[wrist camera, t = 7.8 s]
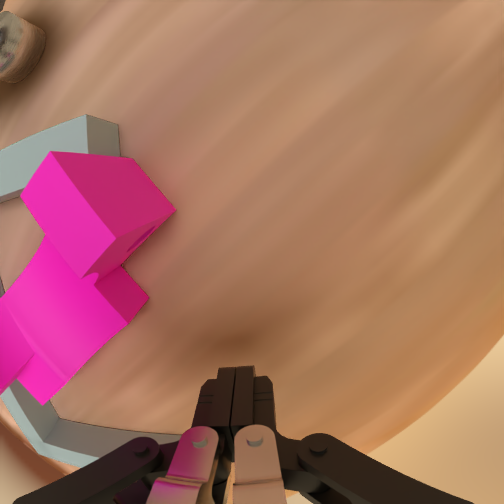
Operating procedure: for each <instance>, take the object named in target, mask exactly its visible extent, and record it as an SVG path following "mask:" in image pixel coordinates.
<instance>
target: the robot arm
mask: <svg viewBox="0 0 504 504" xmlns="http://www.w3.org/2000/svg"><path fill="white" fill-rule="evenodd" d="M231 462H235V483H234V484H233V504H287V502H286V496H285V490H284V489H287V490H293V491H299V492H300V494H301V495H302V496H304V497H305V498H306V499H308V500H309V501H310V502H312V503H313V504H474V503H472V502H470V501H467V500H464V499H461V498H459V497H456V496H453V495H450V494H448V493H446V492H443V491H441V490H438V489H436V488H433V487H431V486H429V485H426V484H424V483H422V482H420V481H417V480H415V479H413V478H411V477H409V476H406V475H404V474H402V473H400V472H398V471H396V470H394V469H392V468H390V467H388V466H386V465H384V464H382V463H380V462H378V461H376V460H374V459H372V458H370V457H368V456H367V455H365V454H363V453H361V452H359V451H357V450H356V449H354V448H352V447H350V446H348V445H347V444H345V443H343V442H342V441H340V440H338V439H336V438H335V437H333V436H331V435H328V434H324V433H316V434H311V435H309V436H306V437H305V438H303V439H302V440H293V439H288V438H286V437H284V436H282V435H280V434H279V433H278V432H277V430H276V415H275V403H274V393H273V384H272V382H271V380H270V379H269V378H268V377H267V376H259V377H256V374H255V367H254V366H241V367H237V368H236V367H226V368H219V370H218V375H217V379H208V380H207V381H206V382H205V383H204V385H203V386H202V387H201V390H200V394H199V398H198V404H197V406H196V410H195V414H194V418H193V422H192V427H191V428H190V429H188V430H187V431H185V432H184V433H183V435H182V436H181V438H180V440H178V441H176V442H171V443H166V444H160V445H159V444H158V443H157V441H156V440H154V439H152V438H150V437H137V438H134V439H132V440H130V441H128V442H127V443H125V444H123V445H122V446H120V447H118V448H117V449H115V450H113V451H111V452H110V453H108V454H106V455H104V456H103V457H101V458H99V459H97V460H95V461H94V462H92V463H90V464H88V465H86V466H84V467H82V468H80V469H79V470H77V471H75V472H73V473H71V474H69V475H67V476H65V477H63V478H61V479H59V480H57V481H55V482H53V483H51V484H49V485H46V486H44V487H42V488H40V489H38V490H35V491H34V492H31V493H29V494H26V495H24V496H22V497H19V498H17V499H16V500H15V501H14V502H13V504H226V503H227V498H228V493H229V487H230V482H231V473H230V472H231ZM137 480H138V481H137ZM124 488H125V489H124ZM119 491H120V492H119Z"/></svg>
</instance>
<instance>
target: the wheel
mask: <svg viewBox="0 0 504 504" xmlns="http://www.w3.org/2000/svg"><path fill="white" fill-rule="evenodd" d="M4 3H5V0H0V11H2V10H3V6H4Z"/></svg>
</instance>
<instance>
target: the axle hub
mask: <svg viewBox="0 0 504 504" xmlns="http://www.w3.org/2000/svg"><path fill="white" fill-rule="evenodd" d="M45 43H46V36H45V33H44V31H43V30H41V29H40V28H38V27H36V26H34V25H33V24H31V23H29V22H27V21H25V20H24V19H22V18H20V17H18V16H16V15H14V14H13V13H11V12H9V11H4V12H2V13H0V80H2V81H5V82H9V83H16V82H19V81H21V80H22V79H24V78H25V77H26V76H27V75H28V74H29V73H30V72H31V71H32V70H33V69H34V67H35V66H36V64H37V63H38V61H39V59H40V58H41V55H42V53H43V51H44V47H45Z"/></svg>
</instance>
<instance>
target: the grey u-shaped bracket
mask: <svg viewBox="0 0 504 504" xmlns="http://www.w3.org/2000/svg"><path fill="white" fill-rule="evenodd" d="M50 151H59V152H73V153H85V154H95V155H105V156H115V157H120V146H119V132H118V125H117V124H114V123H111V122H108V121H105V120H102V119H99V118H96V117H93V116H90V115H87V114H86V115H83V116H80V117H77V118H74V119H71V120H69V121H66V122H63V123H61V124H58V125H56V126H53V127H50V128H48V129H46V130H43V131H41V132H38V133H36V134H34V135H31V136H29V137H27V138H25V139H23V140H20V141H18V142H16V143H14V144H12V145H10V146H8V147H6V148H4V149H2V150H0V203H2V202H5V201H7V200H10V199H13V198H16V197H19V196H20V195H21V193H22V192H23V190H24V189H25V187H26V185H27V184H28V182H29V181H30V179H31V178H32V176H33V175H34V173H35V172H36V170H37V169H38V167H39V166H40V164H41V163H42V161H43V160H44V159H45V157H46V156H47V154H48V153H49V152H50ZM4 294H5V293H4V289H3V286H2V282H1V278H0V298H1V297H2V296H3V295H4ZM0 397H1V398H2V400H3V402H4V404H5V405H6V407H7V409H8V410H9V412H10V413H11V415H12V417H13V418H14V420H15V421H16V423H17V424H18V426H19V427H20V429H21V430H22V432H23V433H24V435H25V436H26V438H27V439H28V440H29V442H30V443H31V444H32V446H33V447H34V449H35V450H36V451H37V452H38V454H40V455H43V456H46V457H49V458H52V459H55V460H58V461H61V462H64V463H67V464H70V465H74V466H77V467H81V468H82V467H84V466H86V465H88V464H90V463H92V462H94V461H95V460H97V459H99V458H101V457H103V456H104V455H106V454H108V453H110V452H111V451H113V450H115V449H117V448H118V447H120V446H122V445H123V444H125V443H127V442H128V441H130V440H132V439H134V438H137V437H150V438H152V439H154V440H156V441H157V443H158V444H159V445H160V444H166V443H171V442H176V441H178V440H180V438H181V436H182V435H171V434H157V433H145V432H136V431H127V430H119V429H112V428H106V427H100V426H94V425H88V424H83V423H78V422H73V421H69V420H64V419H60V418H59V416H58V415H57V413H56V411H55V410H54V408H53V406H52V404H51V403H50V401H49V400H48V401H47V402H46V403H45V404H44V405H43V406H42V405H41V404H40V403H39V402H38V401H37V400H36V399H35V398H34V397H33V396H32V395H31V394H30V392H29V391H28V390H27V389H26V388H25V387H24V386H23V385H22V384H21V383H20V382H19V380H18V379H17V378H16V380H15V381H14V382H13V383H12V384H11V385H10V386H9V387H8V388H7V389H6V390H5V391H4V392H3V393H2V394H1V395H0Z"/></svg>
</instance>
